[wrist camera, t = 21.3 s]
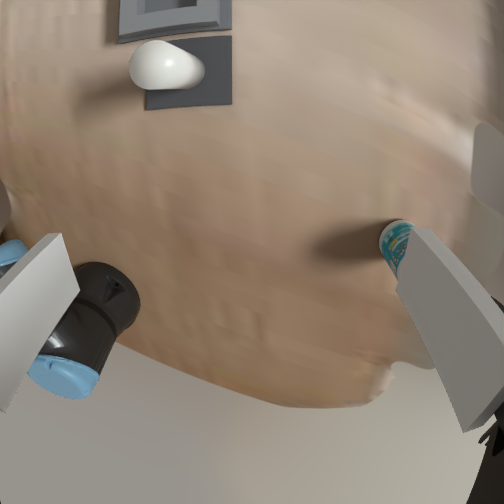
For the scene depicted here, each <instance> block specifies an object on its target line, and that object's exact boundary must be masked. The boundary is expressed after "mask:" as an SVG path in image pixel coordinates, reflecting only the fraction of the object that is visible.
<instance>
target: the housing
mask: <svg viewBox="0 0 504 504" xmlns="http://www.w3.org/2000/svg"><path fill="white" fill-rule="evenodd" d="M218 30H232V0H120V6H119V40H118V43H120V44H123V43H128V42H132V41H138V40H143V39H148V38H154V37H161V36H168V35H175V34H183V33H192V32H203V31H218Z"/></svg>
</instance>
